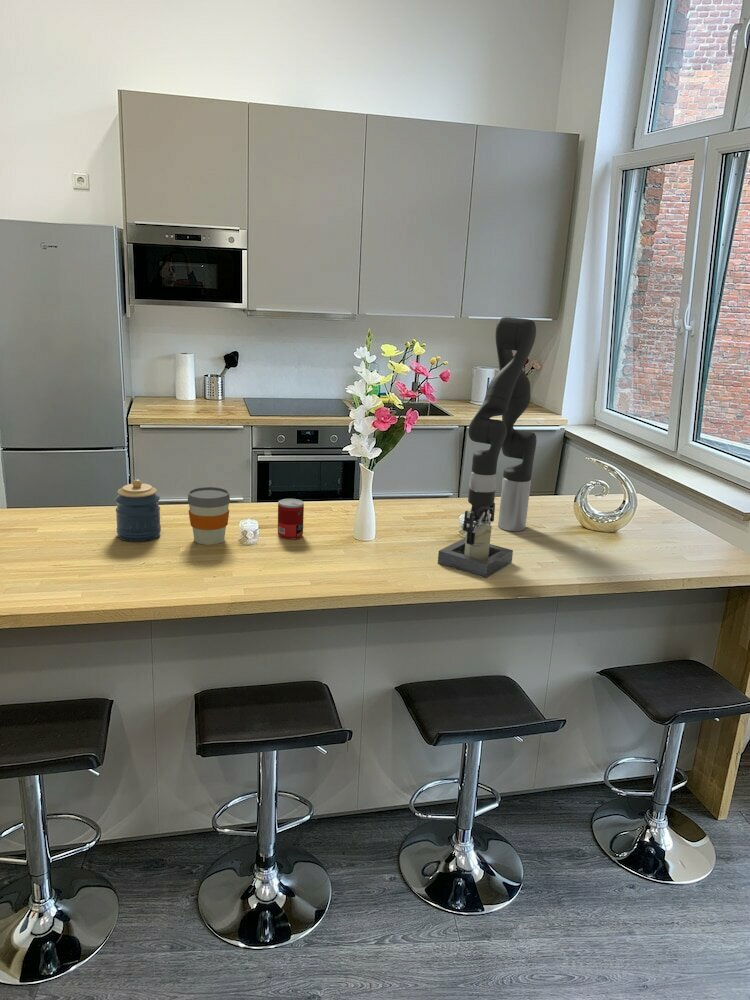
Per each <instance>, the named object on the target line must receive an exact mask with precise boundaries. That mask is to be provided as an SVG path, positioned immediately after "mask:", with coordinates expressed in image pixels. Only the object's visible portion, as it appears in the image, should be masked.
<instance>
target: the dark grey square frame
mask: <svg viewBox="0 0 750 1000" xmlns="http://www.w3.org/2000/svg"><path fill="white" fill-rule="evenodd" d="M465 541H466V537H463V538H462V539H460V540H458V541H455V542H453V543H452V544H450V545H448V546H446V547H443V548H442V549H440V550H438V556H437V565H442V566H445V567H448V568H451V569H454V570H457V571H460V572H465V573H467V574H471V575H474V576H478V577H481V578H484V579H487V578H489V577H490V576H493V575H494V574H496V573H497V572H499V571H502V569H504V568H506V567H507V566H508V565H510V564H512V562H513V555H514V550H513V549H510V548H506V547H503V546H498V545H496V544H492V543H490V546H489V555H488V558H487V559H485V560H481V559H477V558H474V557H470V556H467V555H464V551H465Z"/></svg>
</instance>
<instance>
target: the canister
mask: <svg viewBox="0 0 750 1000" xmlns="http://www.w3.org/2000/svg"><path fill="white" fill-rule="evenodd" d="M157 491H158V490H157V488H156V487H153V486H152V485H151V484H148V483H142V481H141V480H140V479H133V481H132V483H129V484H125V485H123V486H122V487H120V488H119V489H118V490H117V494H118V495H117V496H116V497H115V498H114V501H115V503H116V504H117V505H116V508H115V514H116V515H115V516H116V534H117V538H119V539H121V540H123V541H125V542H126V541H127V542H135V543H136V542H137V543H138V542H148V541H152V540H155V539H157V538H159V537H160V536H161V532H162V529H161V528H162V525H161V507H160V505H159V501H160V500H161V497H160V496H159V495H158V494H157Z"/></svg>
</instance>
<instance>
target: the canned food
mask: <svg viewBox="0 0 750 1000" xmlns="http://www.w3.org/2000/svg"><path fill="white" fill-rule="evenodd" d="M304 510H305V503H304V501H303V500H301V499H298V498H297V499H296V498H283V499H279V500H278V503H277V534H278V536H279V538H281V539H284V538H285V539H284V540H296V539H300V538H302V537H303V534H304V513H305V512H304Z"/></svg>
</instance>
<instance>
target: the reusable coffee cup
mask: <svg viewBox="0 0 750 1000" xmlns="http://www.w3.org/2000/svg"><path fill="white" fill-rule="evenodd" d="M187 494H188V495H187V504H188V508H189V509H188V516H189V517H188V518H189V523H190V526H191V528H192V532H193V533H192V534H193V540H194V542H195V543H196V542H197V543H196V544H199V545H203V544H204V545H206V546H213V545H218V543H219V544H221V543H223V542H224V541H225V537H226V528H227V526H228V523H229V517H230V509H229V506H230V503H231V496H230V491H229V489H226V488H222V487H217V486H201V487H197V488H193V489H191V490H189V491H188V493H187Z"/></svg>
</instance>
